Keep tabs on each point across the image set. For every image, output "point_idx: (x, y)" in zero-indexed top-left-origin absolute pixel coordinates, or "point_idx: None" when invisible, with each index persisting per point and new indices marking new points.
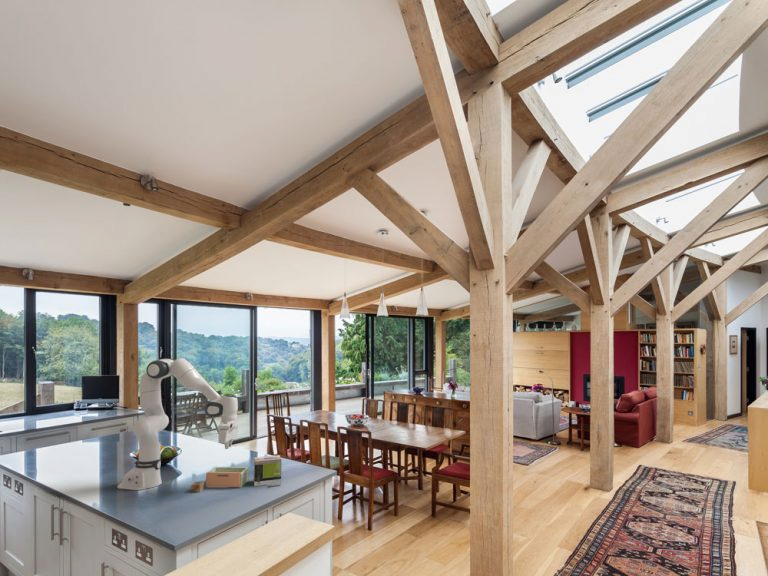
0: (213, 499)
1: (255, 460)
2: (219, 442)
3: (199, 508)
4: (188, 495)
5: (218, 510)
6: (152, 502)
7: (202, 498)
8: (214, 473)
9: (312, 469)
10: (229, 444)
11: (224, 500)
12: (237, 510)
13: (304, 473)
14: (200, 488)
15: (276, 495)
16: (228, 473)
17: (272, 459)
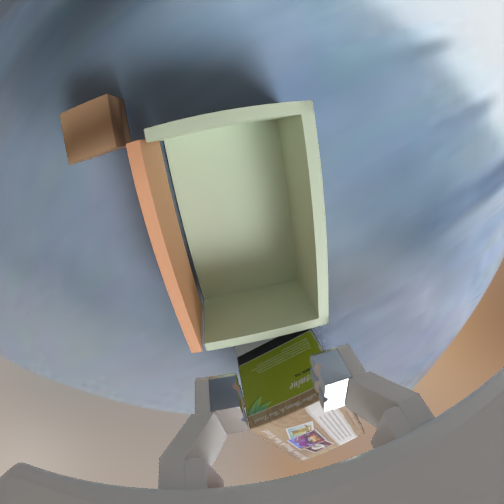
0: (70, 259)
1: (271, 424)
2: (11, 471)
3: (6, 263)
4: None
5: (28, 324)
6: (2, 57)
7: (60, 207)
8: (141, 204)
9: (415, 374)
10: (323, 396)
11: (82, 303)
12: (58, 367)
13: (388, 379)
14: (83, 160)
15: (192, 409)
16: (170, 297)
17: (293, 453)
